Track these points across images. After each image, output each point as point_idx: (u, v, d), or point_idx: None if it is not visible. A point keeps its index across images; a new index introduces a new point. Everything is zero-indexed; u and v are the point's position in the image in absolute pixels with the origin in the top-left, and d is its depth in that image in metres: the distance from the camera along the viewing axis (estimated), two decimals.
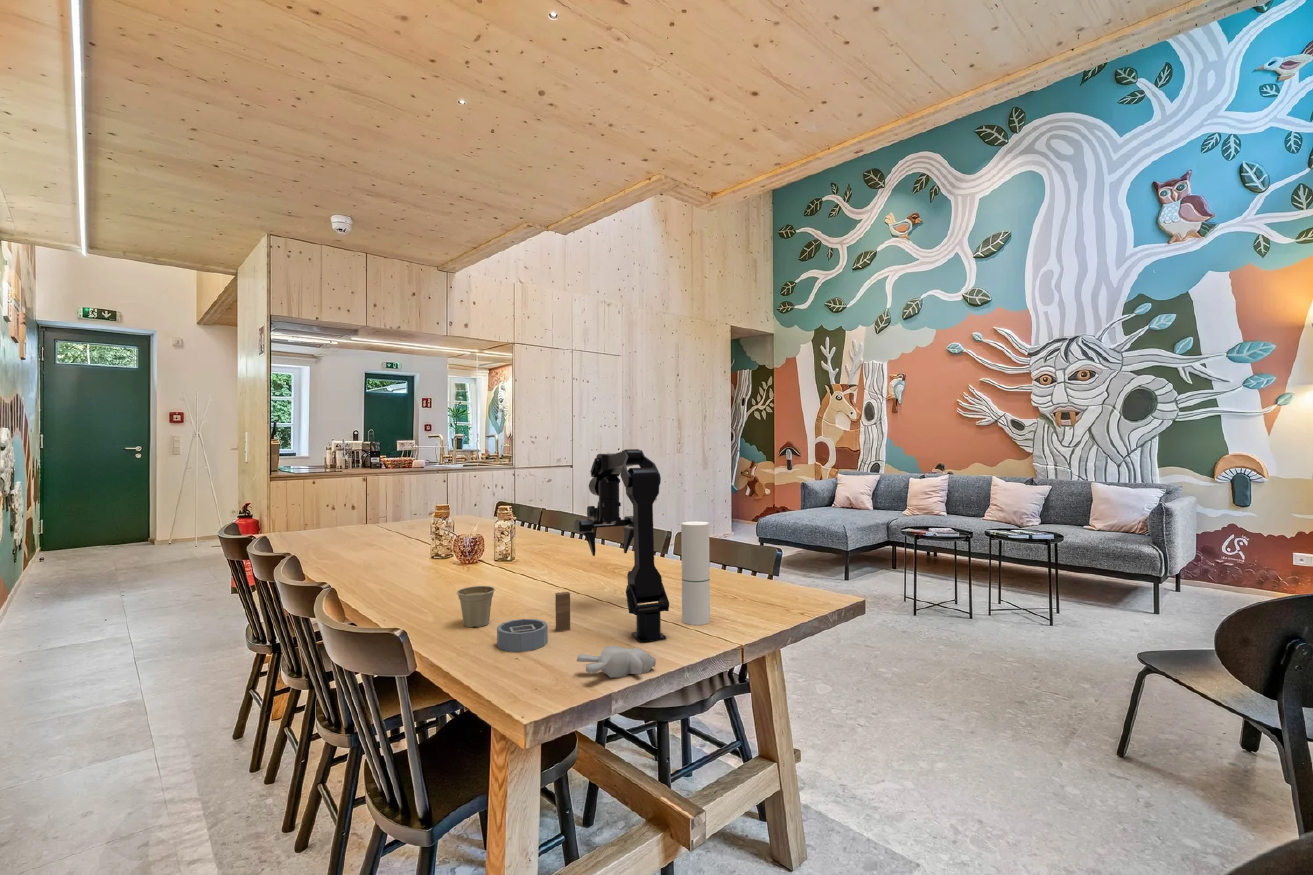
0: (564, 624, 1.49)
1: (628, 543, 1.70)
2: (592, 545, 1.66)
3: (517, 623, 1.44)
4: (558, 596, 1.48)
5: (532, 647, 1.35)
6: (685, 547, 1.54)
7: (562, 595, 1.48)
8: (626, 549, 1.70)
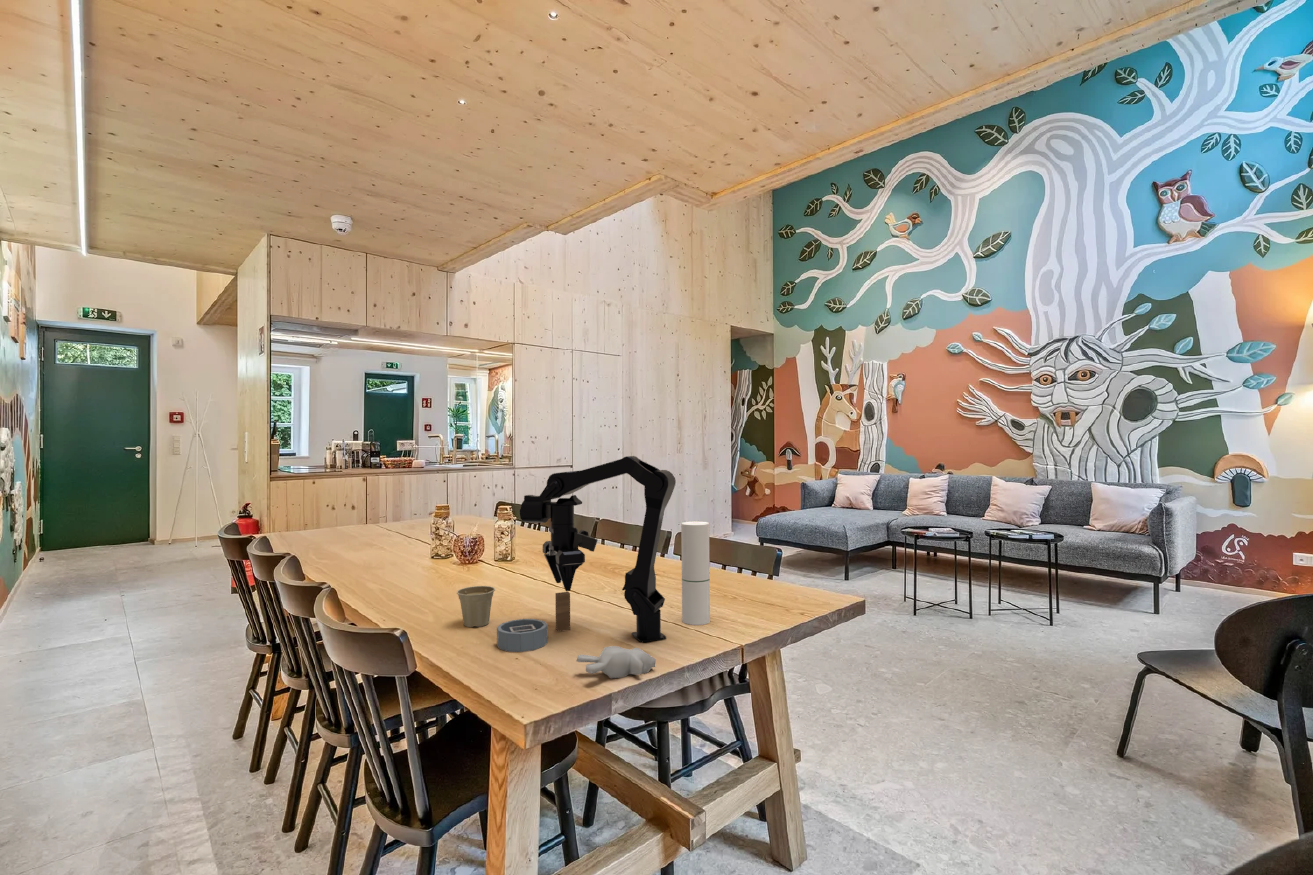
0: (564, 624, 1.49)
1: (562, 579, 1.44)
2: (551, 570, 1.54)
3: (517, 623, 1.44)
4: (558, 596, 1.48)
5: (532, 647, 1.35)
6: (685, 547, 1.54)
7: (562, 595, 1.48)
8: (564, 586, 1.45)
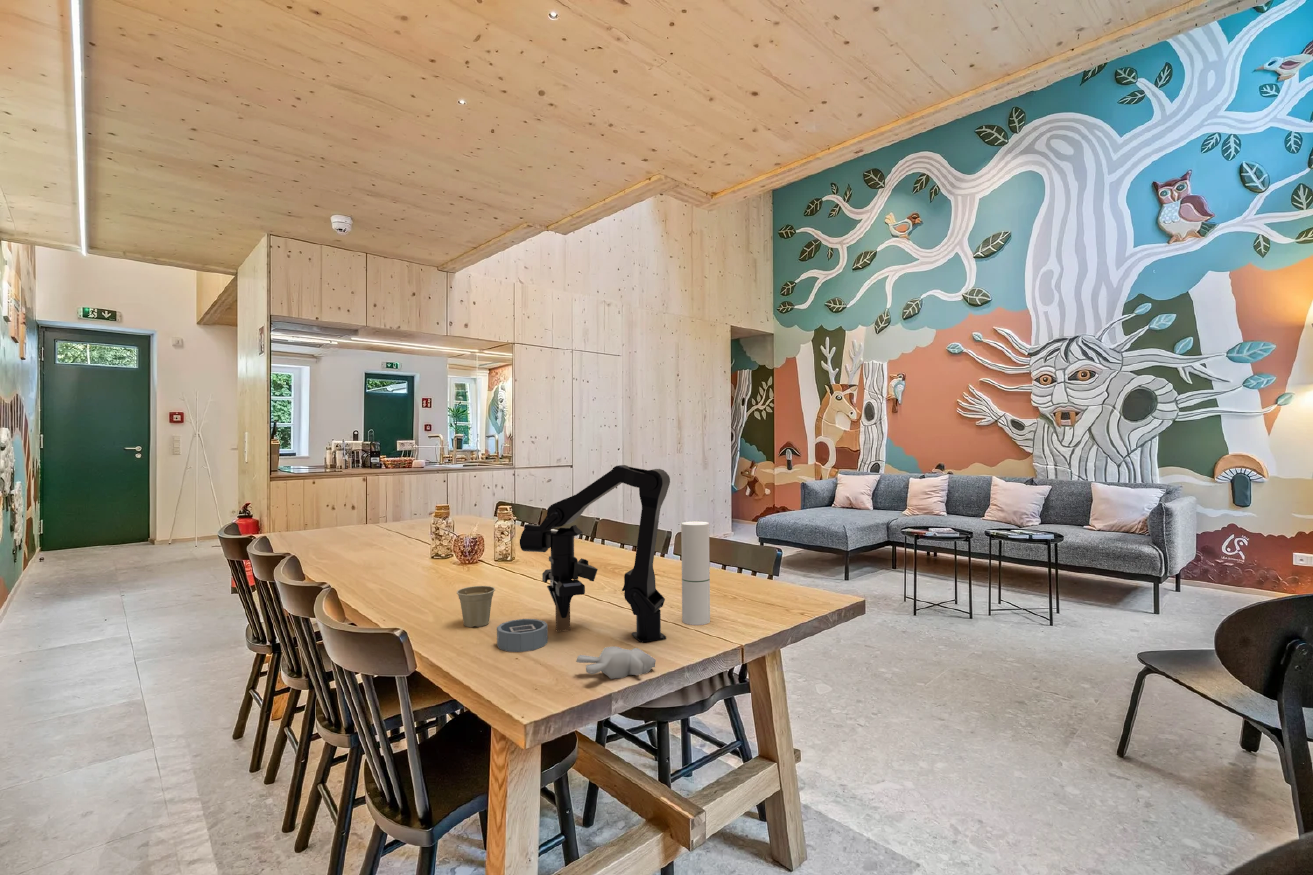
0: (564, 624, 1.49)
1: None
2: (554, 602, 1.50)
3: (517, 623, 1.44)
4: None
5: (532, 647, 1.35)
6: (685, 547, 1.54)
7: None
8: (560, 613, 1.48)
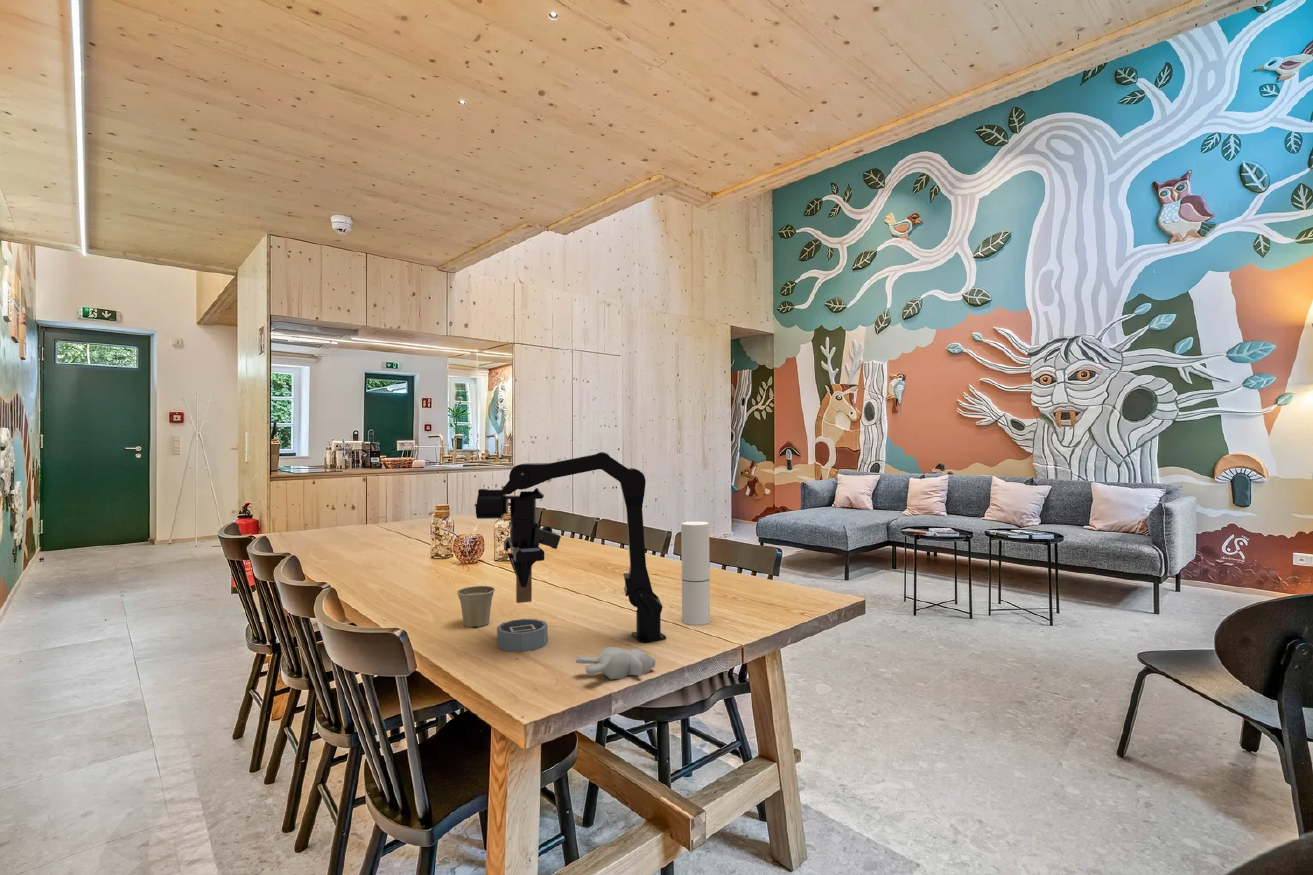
0: (525, 595, 1.39)
1: None
2: (514, 571, 1.41)
3: (517, 623, 1.44)
4: None
5: (532, 647, 1.35)
6: (685, 547, 1.54)
7: None
8: None
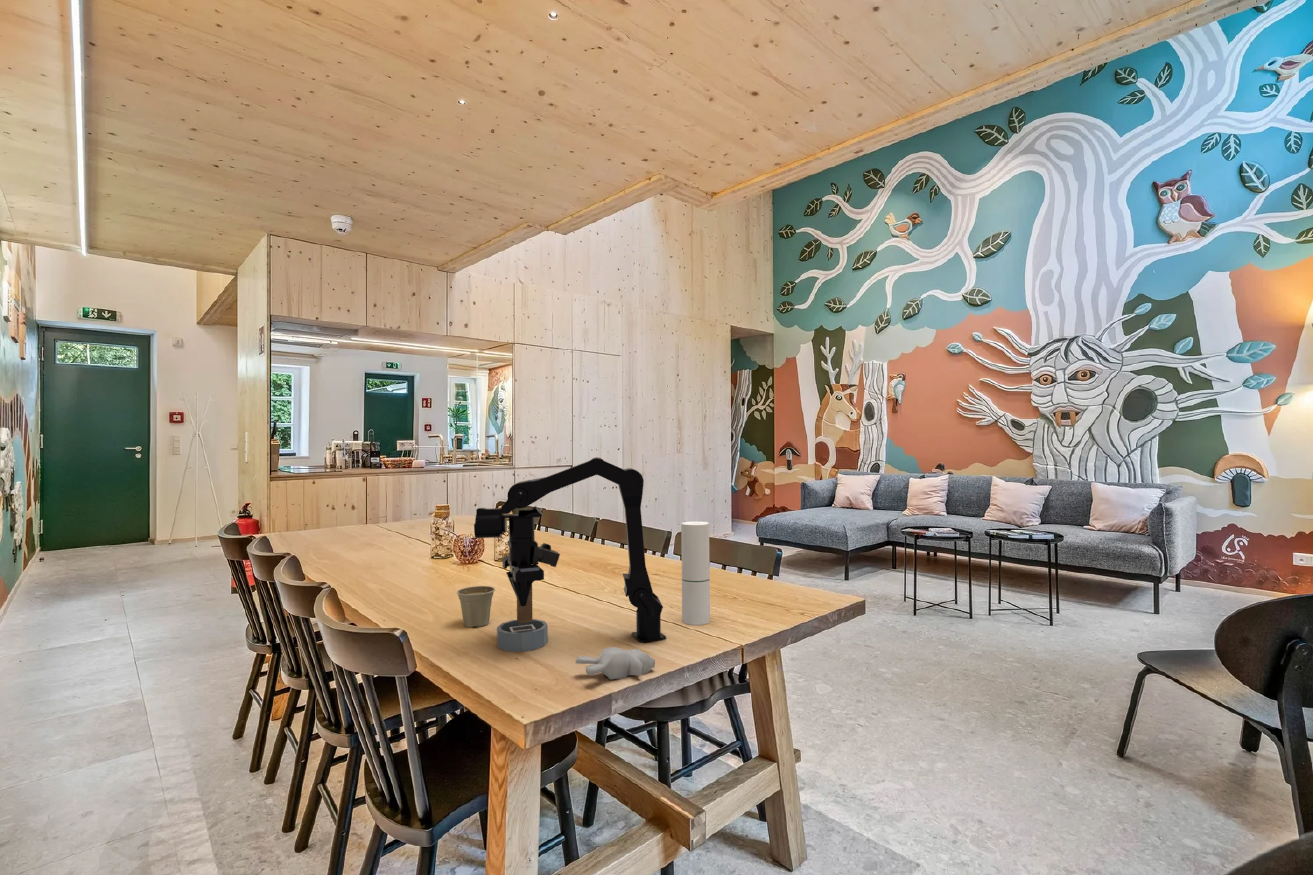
0: (526, 615, 1.39)
1: None
2: (513, 589, 1.41)
3: (517, 623, 1.44)
4: None
5: (532, 647, 1.35)
6: (685, 547, 1.54)
7: None
8: (519, 601, 1.38)
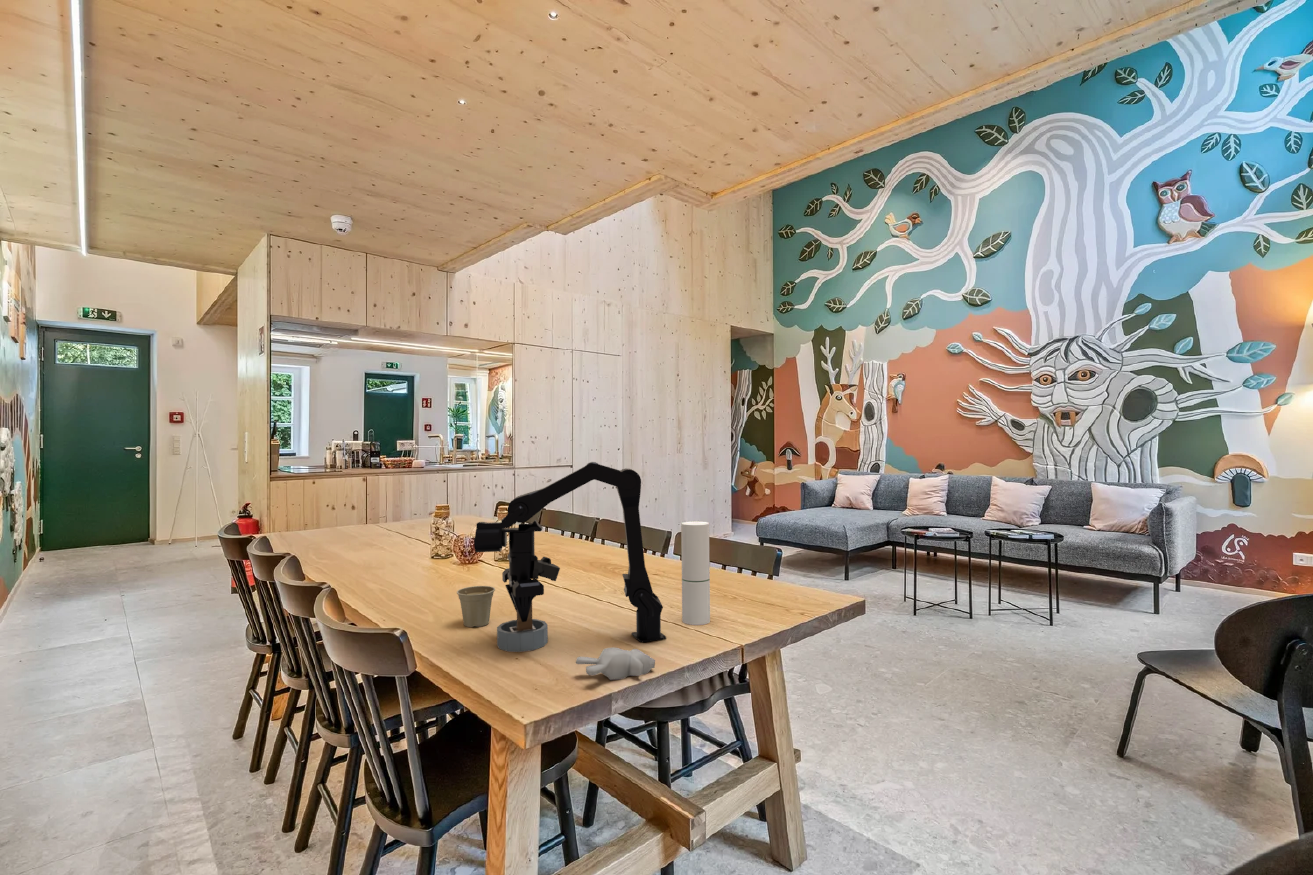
0: None
1: (518, 610, 1.37)
2: (512, 602, 1.42)
3: None
4: None
5: (532, 647, 1.35)
6: (685, 547, 1.54)
7: None
8: (520, 616, 1.37)
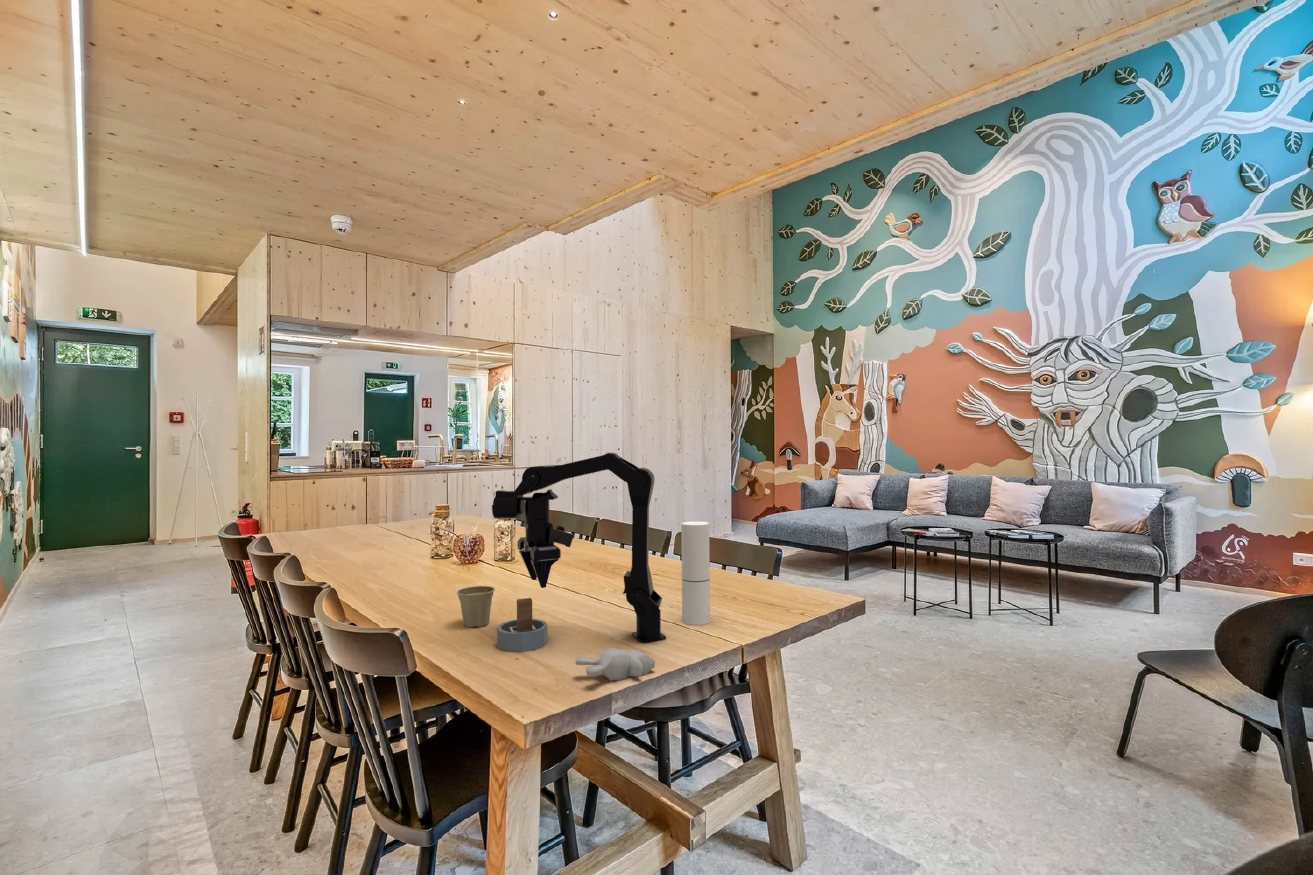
0: None
1: None
2: (526, 566, 1.50)
3: None
4: (519, 603, 1.38)
5: (532, 647, 1.35)
6: (685, 547, 1.54)
7: (524, 602, 1.39)
8: (539, 583, 1.41)
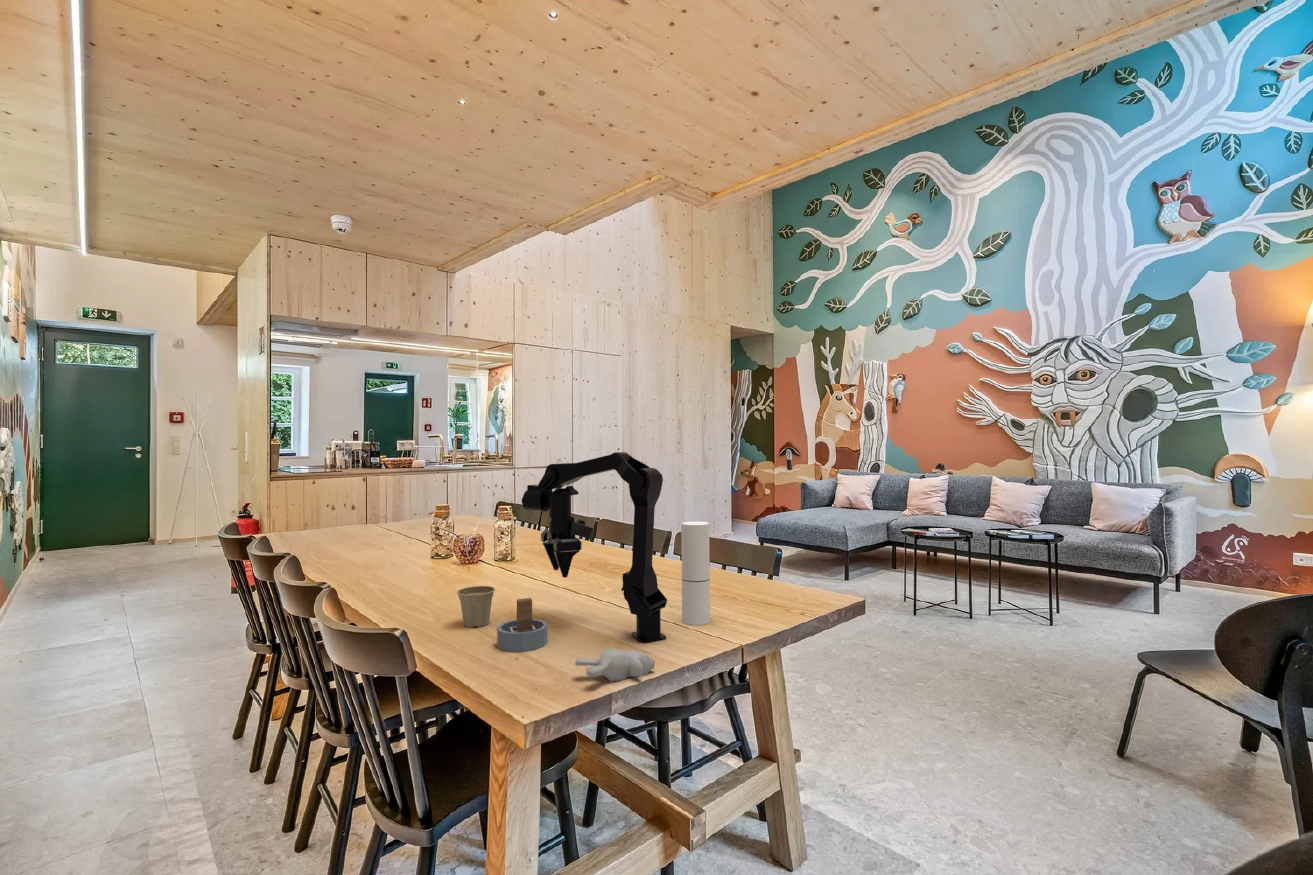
0: None
1: (559, 566, 1.50)
2: (549, 557, 1.60)
3: None
4: (519, 603, 1.38)
5: (532, 647, 1.35)
6: (685, 547, 1.54)
7: (524, 602, 1.39)
8: (561, 572, 1.51)
